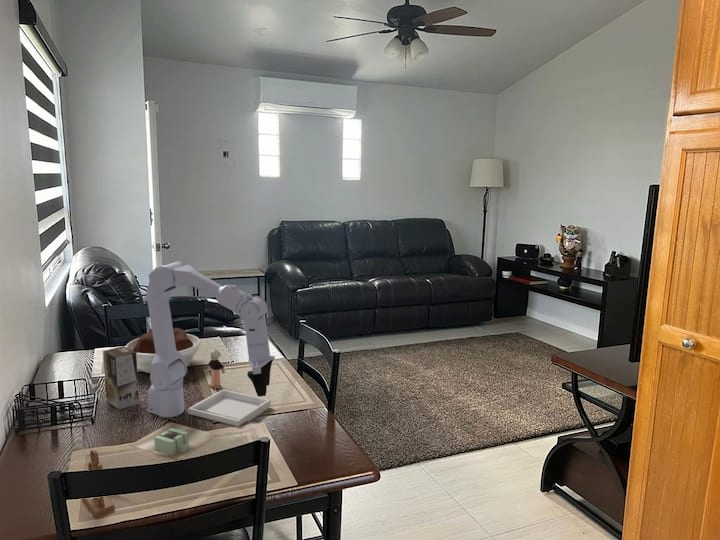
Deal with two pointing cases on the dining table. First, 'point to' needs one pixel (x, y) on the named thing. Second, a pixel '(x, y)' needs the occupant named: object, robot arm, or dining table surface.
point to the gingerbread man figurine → (103, 503)
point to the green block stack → (172, 441)
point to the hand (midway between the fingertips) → (263, 390)
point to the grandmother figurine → (215, 369)
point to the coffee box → (121, 377)
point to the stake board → (192, 438)
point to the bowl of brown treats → (146, 348)
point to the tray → (230, 407)
